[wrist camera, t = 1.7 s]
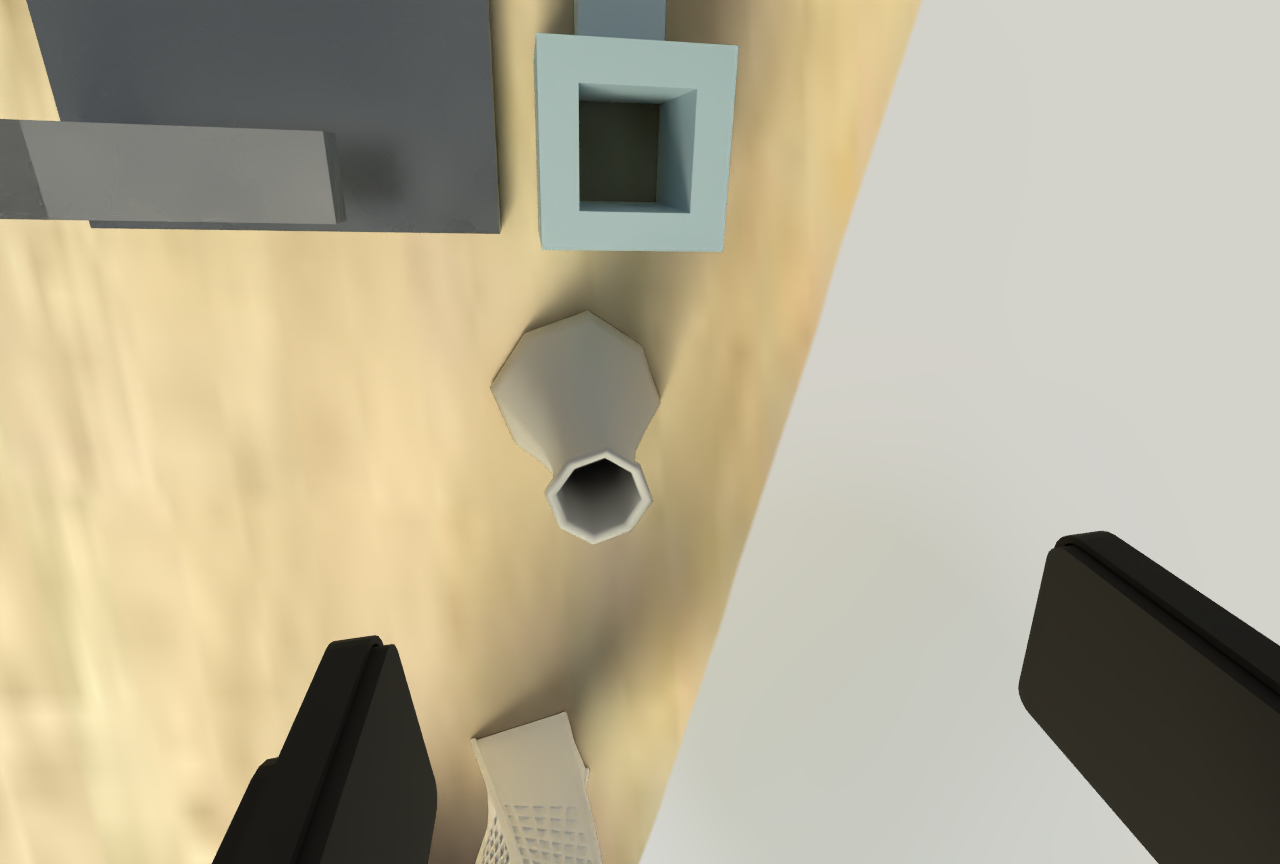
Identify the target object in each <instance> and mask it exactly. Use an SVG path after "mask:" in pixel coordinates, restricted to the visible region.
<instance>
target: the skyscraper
mask: <svg viewBox="0 0 1280 864" xmlns="http://www.w3.org/2000/svg"><path fill="white" fill-rule="evenodd" d="M470 744H471V747H472V749H473V752H474V755H475V757H476V760H477V762H478V765H479V768H480V771H481V773H482V776H483V779H484V781H485V784H486V787H487V794H488V825H487V830H486V833H485V836H484V838H483V841H482V845H481V848H480V851H479V854H478V857H477V860H476V863H475V864H603V863H602V857H601V853H600V848H599V844H598V839H597V835H596V830H595V825H594V821H593V816H592V812H591V807H590V803H589V799H588V795H587V791H586V787H587V782H588V778H589V774H590V770H589V768H585V766H584V763H583V761H582V758H581V756H580V754H579V751H578V749H577V746H576V744H575V741H574V738H573V735H572V731H571V727H570V723H569V719H568V715H567V713H566V711H565V712H562V713H560V714H557V715H554V716H551V717H547V718H544V719H541V720H538V721H535V722H532V723H528V724H525V725H522V726H519V727H516V728H513V729H509V730H506V731H503V732H500V733H497V734H494V735H491V736H487V737H484V738H481V739H478V740H476V738H473V739H472V740H471V741H470Z"/></svg>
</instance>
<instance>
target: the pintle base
mask: <svg viewBox="0 0 1280 864" xmlns="http://www.w3.org/2000/svg"><path fill="white" fill-rule="evenodd" d="M26 1H27V4H28V8H29V11H30V15H31V18H32V22H33V25H34V29H35V33H36V36H37V40H38V43H39V47H40V50H41V54H42V57H43V61H44V64H45V68H46V71H47V75H48V78H49V82H50V85H51V89H52V92H53V96H54V99H55V103H56V106H57V110H58V113H59V117H60V120H61V121H36V120H9V119H0V219H40V220H89V222H90V226H91V228H129V229H200V230H270V231H341V232H412V233H482V234H500V232H501V222H500V203H499V183H498V163H497V144H496V124H495V104H494V85H493V65H492V45H491V26H490V6H489V0H26Z"/></svg>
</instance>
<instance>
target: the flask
mask: <svg viewBox="0 0 1280 864" xmlns="http://www.w3.org/2000/svg"><path fill="white" fill-rule="evenodd" d="M490 389H491V391H492V393H493V396H494V398H495V400H496V402H497V405H498V407H499V409H500V411H501V413H502V416H503V418H504V420H505V422H506V425H507V427H508V429H509V431H510V433H511V436H512V438H513V440H514V442H515V444H516V445H518V446H519V447H520V448H521V449H523V450H524V451H526V452H527V453H529V454H530V455H531V456H533V457H534V458H536V459H537V460H538V461H539V462H540V463H541V464H543V465H544V466H545V467H546V468H547V469H548V470H549V471H551V472H552V473H553V477H554V478H553V479H552V481H551V482H550V483H549V485H548V486H547V488H546V490H545V496H546V498H547V500H548V502H549V505H550V507H551V509H552V511H553V514H554V516H555V518H556V520H557V523H558V525H559V527H560V528H561V529H563V530H565V531H567V532H569V533H571V534H573V535H575V536H577V537H579V538H581V539H583V540H585V541H587V542H589V543H591V544H593V545H594V544H597V543H600V542H602V541H605V540H608V539H610V538H613V537H616V536H619V535H621V534H624V533H627V532H629V531H631V530H632V528H633V527H634V526H635V524H636V523H637V522H638V520H639V519H640V518H641V516H642V515H643V514H644V512H645V511H646V510H647V508H648V507H649V506H650V504H651V503H652V502H653V500H652V497H651V494H650V491H649V488H648V485H647V483H646V480H645V477H644V474H643V472H642V469H641V466H640V464H639V463H638V462H636V461H635V451H636V449H637V447H638V445H639V443H640V441H641V439H642V436H643V434H644V432H645V430H646V428H647V426H648V424H649V423H650V421H651V419H652V418H653V416H654V414H655V412H656V411H657V409H658V407H659V405H660V403H661V402H660V399H659V396H658V393H657V390H656V387H655V384H654V381H653V378H652V375H651V372H650V369H649V366H648V363H647V360H646V357H645V354H644V351H643V348H642V346H641V345H640V344H638V343H637V342H635V341H634V340H632V339H631V338H629V337H628V336H626V335H625V334H623V333H622V332H620V331H618V330H617V329H615V328H614V327H612V326H611V325H609V324H608V323H606V322H605V321H603V320H602V319H600V318H599V317H597V316H596V315H594V314H592V313H591V312H589V311H588V310H587V311H585V312H582V313H579V314H576V315H573V316H571V317H568V318H565V319H562V320H560V321H557V322H554V323H551V324H548V325H546V326H543V327H540V328H537V329H535V330H532V331H529V332H526V333H524V335H523V336H522V338H521V339H520V341H519V342H518V344H517V345H516V347H515V349H514V350H513V352H512V353H511V355H510V356H509V358H508V360H507V361H506V363H505V364H504V366H503V367H502V369H501V370H500V372H499V374H498V375H497V377H496V378H495V380H494V381H493V383H492V384H491V386H490Z"/></svg>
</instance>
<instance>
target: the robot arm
mask: <svg viewBox="0 0 1280 864" xmlns="http://www.w3.org/2000/svg"><path fill="white" fill-rule="evenodd" d="M1018 689H1019V695H1020V698H1021V701H1022V703H1023V705H1024V707H1025V708H1026V710H1027V711H1028V713H1029V714H1030V715H1031V716H1032V717H1033V718H1034V719H1035V721H1036V722H1037V723H1038V724H1039V725H1040V726H1041V728H1042V729H1043V730H1044V731H1045V732H1046V733H1047V735H1048V736H1049V737H1050V738H1051V739H1052V740H1053V741H1054V743H1055V744H1056V745H1057V746H1058V747H1059V749H1060V750H1061V751H1062V752H1063V753H1064V754H1065V755H1066V757H1067V758H1068V759H1069V760H1070V761H1071V763H1073V765H1074V766H1075V767H1076V768H1077V769H1078V771H1079V772H1080V773H1081V774H1082V775H1083V776H1084V778H1085V779H1086V780H1087V781H1088V782H1089V783H1090V785H1091V786H1092V787H1093V788H1094V789H1095V790H1096V792H1097V793H1098V794H1099V795H1100V796H1101V797H1102V798H1103V799H1104V800H1105V802H1106V803H1107V804H1108V805H1109V807H1110V808H1111V809H1112V810H1113V811H1114V812H1115V814H1116V815H1117V816H1118V817H1119V818H1120V819H1121V821H1122V822H1123V823H1124V824H1125V825H1126V826H1127V827H1128V828H1129V830H1130V831H1131V832H1132V833H1133V834H1134V836H1135V837H1136V838H1137V839H1138V840H1139V841H1140V843H1141V844H1142V845H1143V846H1144V847H1145V848H1146V850H1147V851H1148V852H1149V853H1150V854H1151V855H1152V857H1154V859H1155V860H1156V861H1157V862H1158V863H1159V864H1280V646H1279V645H1278V644H1276V643H1275V642H1273V641H1272V640H1270V639H1269V638H1267V637H1266V636H1264V635H1263V634H1261V633H1260V632H1258V631H1257V630H1255V629H1254V628H1252V627H1251V626H1249V625H1248V624H1246V623H1245V622H1243V621H1242V620H1240V619H1239V618H1237V617H1236V616H1234V615H1233V614H1231V613H1230V612H1228V611H1227V610H1225V609H1224V608H1223V607H1221V606H1220V605H1218V604H1217V603H1215V602H1214V601H1212V600H1211V599H1209V598H1208V597H1206V596H1205V595H1203V594H1202V593H1200V592H1199V591H1197V590H1196V589H1194V588H1193V587H1191V586H1190V585H1188V584H1187V583H1185V582H1184V581H1182V580H1181V579H1179V578H1178V577H1176V576H1175V575H1174V574H1172V573H1170V572H1169V571H1168V570H1166V569H1164V568H1163V567H1162V566H1160V565H1159V564H1157V563H1155V562H1154V561H1153V560H1151V559H1150V558H1148V557H1147V556H1145V555H1144V554H1142V553H1141V552H1139V551H1138V550H1136V549H1135V548H1133V547H1132V546H1130V545H1129V544H1127V543H1126V542H1124V541H1123V540H1121V539H1120V538H1118V537H1117V536H1116V535H1114V534H1111V533H1109V532H1105V531H1097V532H1089V533H1083V534H1075V535H1069V536H1065V537H1062V538H1060V539H1059V540H1058V541H1057V543H1056V545H1055V547H1054V549H1051V551H1049V553H1048V555H1047V559H1046V563H1045V568H1044V572H1043V577H1042V581H1041V586H1040V590H1039V595H1038V599H1037V604H1036V609H1035V613H1034V617H1033V622H1032V626H1031V631H1030V635H1029V640H1028V644H1027V649H1026V653H1025V658H1024V662H1023V667H1022V671H1021V676H1020V680H1019V688H1018ZM436 810H437V788H436V782H435V778H434V775H433V771H432V768H431V764H430V761H429V757H428V754H427V750H426V747H425V743H424V740H423V736H422V733H421V730H420V726H419V723H418V719H417V716H416V712H415V709H414V705H413V702H412V698H411V695H410V691H409V688H408V684H407V681H406V678H405V674H404V671H403V667H402V664H401V660H400V657H399V653H398V650H397V648H396V646H395V645H393V644H390V645H383V643H382V640H381V639H380V638H379V636H376V635H374V636H367V637H360V638H353V639H346V640H339V641H333V642H332V643H330V644H329V645H328V647H327V649H326V651H325V653H324V655H323V657H322V660H321V662H320V664H319V666H318V669H317V671H316V673H315V675H314V678H313V680H312V682H311V684H310V687H309V689H308V691H307V693H306V696H305V698H304V700H303V702H302V705H301V707H300V709H299V712H298V714H297V716H296V718H295V721H294V723H293V725H292V727H291V730H290V732H289V734H288V736H287V739H286V741H285V743H284V745H283V748H282V750H281V752H280V754H279V757H277V758H272V759H267V760H266V761H265V762H264V763H263V764H262V765H260V766H259V768H258V769H257V771H256V773H255V774H254V776H253V778H252V779H251V781H250V783H249V785H248V788H247V790H246V792H245V794H244V796H243V798H242V800H241V802H240V805H239V807H238V809H237V811H236V813H235V815H234V817H233V820H232V822H231V824H230V826H229V828H228V830H227V832H226V834H225V837H224V839H223V841H222V843H221V845H220V847H219V849H218V851H217V854H216V856H215V858H214V860H213V862H212V864H428V859H429V853H430V847H431V841H432V835H433V829H434V823H435V817H436Z"/></svg>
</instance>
